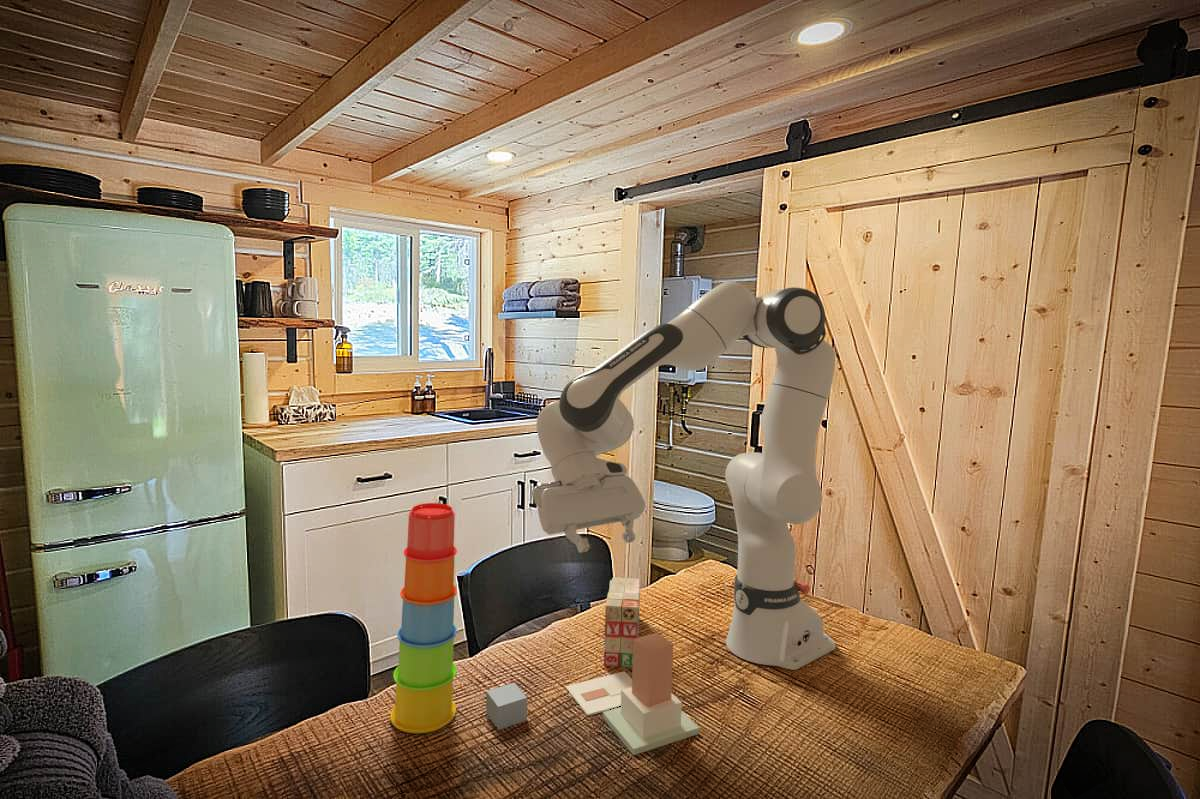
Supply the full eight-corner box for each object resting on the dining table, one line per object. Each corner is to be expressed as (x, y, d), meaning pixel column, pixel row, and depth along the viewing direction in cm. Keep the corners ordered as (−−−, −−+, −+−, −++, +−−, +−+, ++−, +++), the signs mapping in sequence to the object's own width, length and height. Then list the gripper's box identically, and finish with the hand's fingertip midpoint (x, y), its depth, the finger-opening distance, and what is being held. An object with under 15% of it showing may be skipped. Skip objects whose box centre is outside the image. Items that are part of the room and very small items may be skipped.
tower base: (664, 700, 105) (665, 672, 105) (699, 733, 97) (700, 703, 96) (602, 718, 100) (603, 688, 99) (633, 755, 91) (634, 723, 91)
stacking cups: (442, 690, 107) (442, 495, 103) (466, 720, 98) (467, 509, 95) (382, 709, 101) (380, 503, 97) (402, 743, 92) (400, 519, 89)
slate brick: (514, 705, 103) (514, 682, 103) (527, 721, 99) (527, 697, 99) (486, 714, 101) (486, 690, 100) (497, 730, 96) (498, 706, 96)
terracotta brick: (654, 685, 101) (656, 632, 100) (671, 699, 97) (673, 644, 96) (631, 693, 98) (633, 639, 98) (648, 707, 95) (650, 651, 94)
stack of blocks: (611, 617, 137) (612, 563, 136) (639, 618, 136) (641, 565, 135) (603, 667, 116) (605, 604, 115) (636, 669, 115) (638, 606, 114)
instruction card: (624, 672, 114) (624, 670, 114) (650, 698, 106) (650, 696, 106) (565, 687, 108) (565, 685, 108) (587, 716, 100) (587, 713, 100)
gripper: (534, 475, 105) (561, 547, 98) (631, 463, 116) (662, 527, 109) (523, 495, 110) (548, 565, 102) (618, 481, 120) (647, 544, 113)
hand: (608, 545), depth 106 cm, fingers open, 8 cm apart
